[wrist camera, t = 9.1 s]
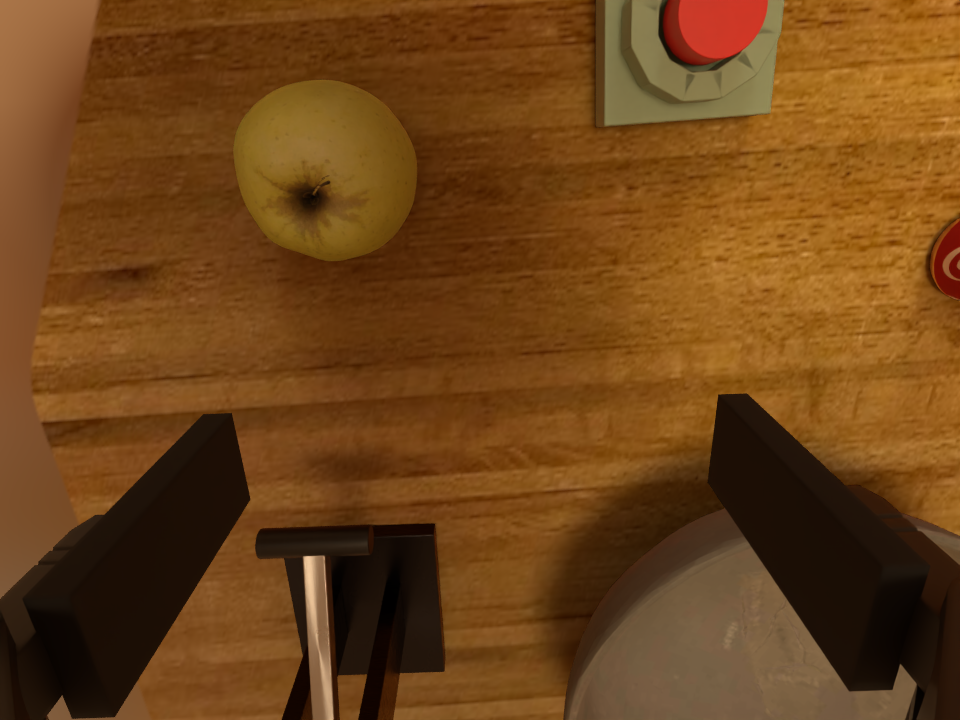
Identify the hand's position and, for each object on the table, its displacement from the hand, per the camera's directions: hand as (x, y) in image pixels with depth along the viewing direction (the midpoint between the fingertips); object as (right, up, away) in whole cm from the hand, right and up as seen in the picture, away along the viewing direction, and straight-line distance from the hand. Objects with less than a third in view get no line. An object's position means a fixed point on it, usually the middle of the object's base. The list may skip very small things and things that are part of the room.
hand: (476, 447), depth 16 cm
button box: (+10, +19, +13) cm, 24 cm away
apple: (-7, +13, +15) cm, 21 cm away
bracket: (-8, -14, +25) cm, 30 cm away
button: (+10, +17, +9) cm, 22 cm away
